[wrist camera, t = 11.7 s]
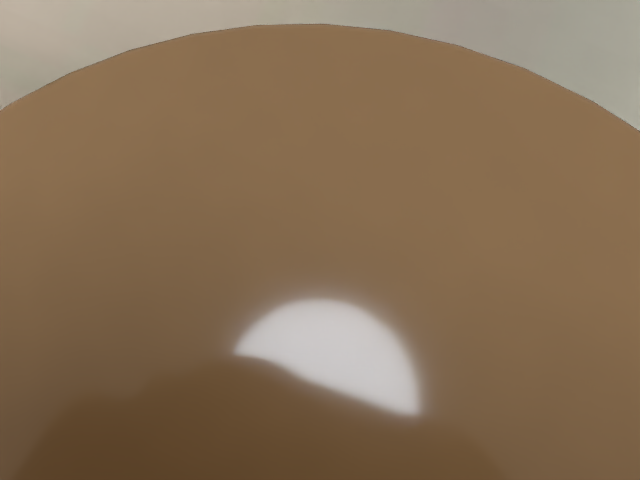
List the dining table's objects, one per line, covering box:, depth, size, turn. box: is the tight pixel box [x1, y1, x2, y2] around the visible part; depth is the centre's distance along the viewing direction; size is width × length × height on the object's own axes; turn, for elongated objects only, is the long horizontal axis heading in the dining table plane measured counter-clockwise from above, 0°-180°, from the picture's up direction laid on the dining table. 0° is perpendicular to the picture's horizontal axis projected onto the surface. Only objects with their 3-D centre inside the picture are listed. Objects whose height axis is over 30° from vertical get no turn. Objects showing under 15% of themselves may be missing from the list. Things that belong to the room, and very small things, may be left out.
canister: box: [0, 24, 640, 480], centre depth 8 cm, size 6×6×12 cm
